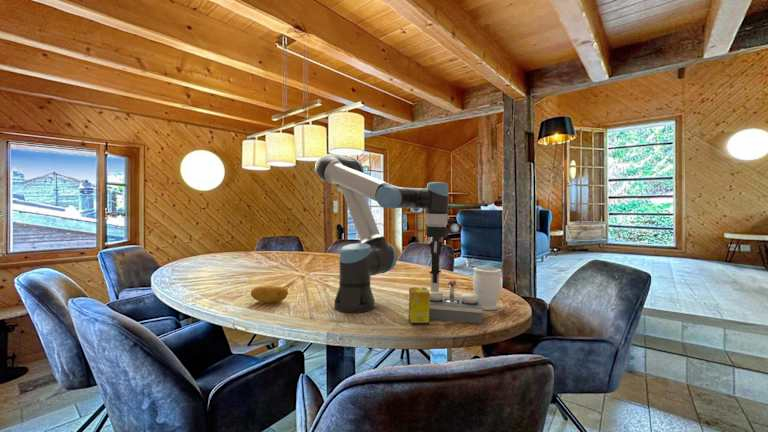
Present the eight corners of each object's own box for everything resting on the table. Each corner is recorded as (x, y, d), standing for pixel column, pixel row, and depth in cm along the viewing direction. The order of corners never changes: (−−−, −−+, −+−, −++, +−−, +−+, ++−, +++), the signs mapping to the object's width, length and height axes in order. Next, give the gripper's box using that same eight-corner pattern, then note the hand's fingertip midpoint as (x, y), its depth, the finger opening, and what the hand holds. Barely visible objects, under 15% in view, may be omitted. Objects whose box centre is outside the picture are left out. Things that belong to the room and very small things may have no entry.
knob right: (461, 316, 114) (461, 296, 114) (460, 311, 120) (461, 292, 119) (477, 318, 113) (478, 298, 113) (476, 313, 119) (477, 293, 118)
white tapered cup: (502, 312, 121) (503, 272, 121) (473, 310, 124) (474, 270, 123) (498, 304, 132) (499, 266, 131) (471, 302, 134) (472, 265, 133)
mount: (421, 318, 114) (422, 303, 113) (424, 307, 126) (425, 294, 125) (482, 323, 109) (482, 308, 109) (479, 312, 121) (479, 298, 121)
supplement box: (408, 318, 113) (408, 287, 112) (425, 318, 113) (426, 287, 113) (411, 325, 107) (411, 291, 106) (429, 325, 107) (430, 291, 107)
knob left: (426, 313, 117) (426, 294, 116) (427, 309, 122) (427, 290, 122) (442, 315, 116) (442, 295, 115) (442, 310, 121) (443, 291, 121)
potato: (283, 306, 123) (283, 288, 123) (247, 305, 124) (247, 287, 124) (290, 300, 131) (290, 283, 131) (256, 299, 132) (257, 282, 132)
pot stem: (445, 316, 116) (446, 281, 116) (445, 312, 120) (446, 279, 120) (457, 317, 115) (458, 282, 115) (457, 313, 119) (458, 280, 119)
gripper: (447, 227, 111) (444, 297, 112) (447, 225, 123) (445, 287, 124) (424, 226, 112) (422, 295, 113) (427, 224, 125) (425, 286, 126)
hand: (434, 291), depth 119 cm, fingers closed
